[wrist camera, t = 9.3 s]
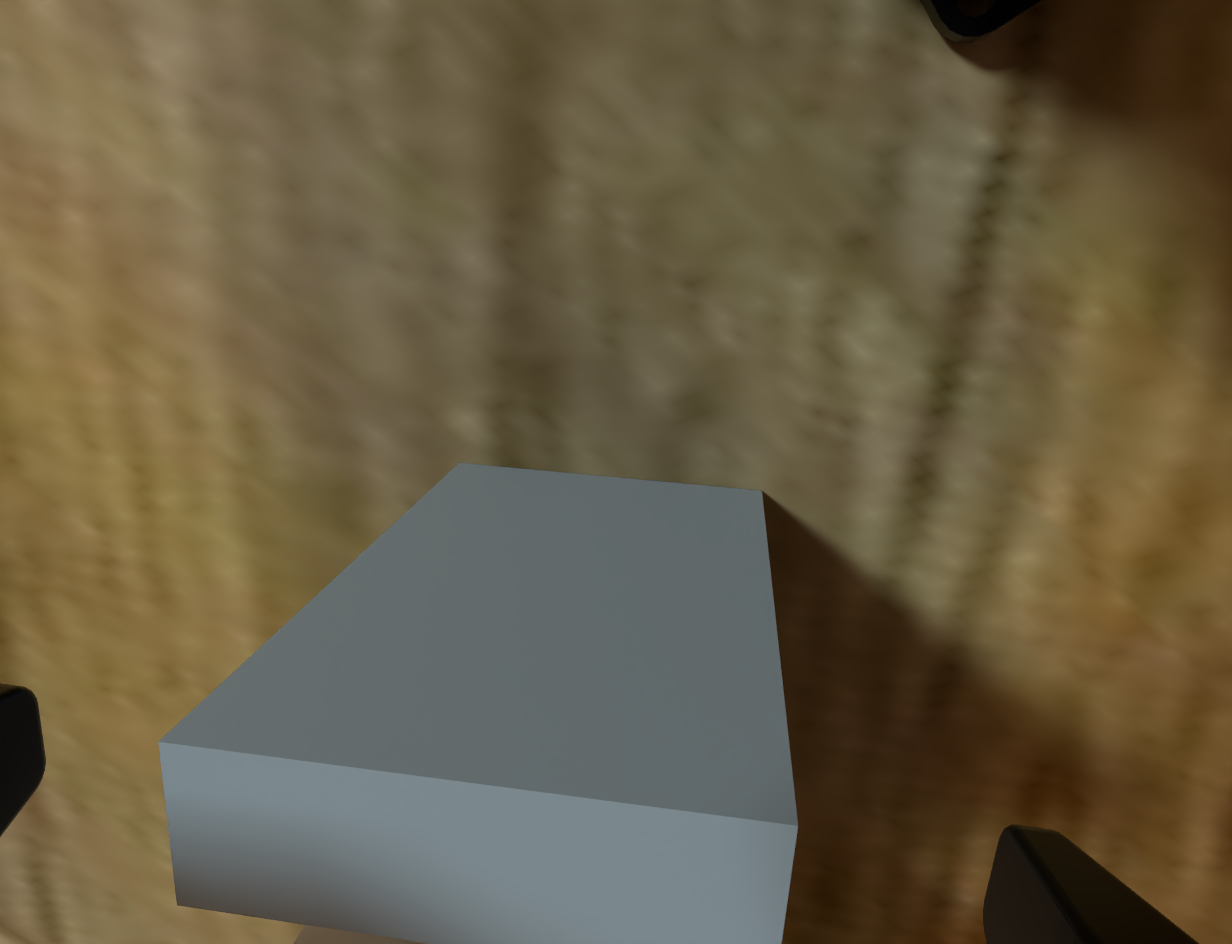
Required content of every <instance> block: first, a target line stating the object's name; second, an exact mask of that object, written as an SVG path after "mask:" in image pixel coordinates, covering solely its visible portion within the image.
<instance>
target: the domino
mask: <svg viewBox="0 0 1232 944" xmlns="http://www.w3.org/2000/svg"><path fill="white" fill-rule="evenodd" d="M158 743H159V751H160V760H161V769H162V778H163V786H164V795H165V804H166V813H167V821H168V830H169V839H170V847H171V856H172V865H173V874H174V882H175V891H176V900H177V905H179V906H186V907H193V908H199V909H206V910H212V911H219V912H225V913H232V914H239V915H245V916H252V917H258V918H265V919H271V920H278V921H285V922H291V923H298V924H304V925H311V926H318V927H324V928H331V929H337V930H344V931H350V932H357V933H364V934H370V935H377V936H383V937H390V938H396V939H403V940H410V941H416V942H423V943H429V944H782V937H783V930H784V923H785V916H786V909H787V902H788V895H789V887H790V880H791V873H792V866H793V859H794V852H795V845H796V838H797V831H798V820H797V810H796V801H795V792H794V783H793V773H792V764H791V755H790V746H789V736H788V727H787V718H786V709H785V699H784V690H783V681H782V672H781V663H780V653H779V644H778V635H777V626H776V616H775V607H774V598H773V589H772V579H771V570H770V561H769V552H768V542H767V533H766V524H765V515H764V506H763V496H762V491H758V490H747V489H736V488H725V487H715V486H704V485H693V484H682V483H671V482H660V481H649V480H639V479H628V478H617V477H606V476H595V475H584V474H573V473H562V472H552V471H541V470H530V469H519V468H508V467H497V466H486V465H476V464H465V463H459V464H458V465H457V466H456V467H454V468H453V469H452V470H451V471H450V472H449V473H448V474H447V475H446V476H445V477H444V478H443V479H441V480H440V481H439V482H438V483H437V484H436V485H435V486H434V487H433V488H432V489H431V490H430V491H429V492H427V493H426V494H425V495H424V496H423V497H422V498H421V499H420V500H419V501H418V502H417V503H416V504H415V505H413V506H412V507H411V508H410V509H409V510H408V511H407V512H406V513H405V514H404V515H403V516H402V517H400V518H399V519H398V520H397V521H396V522H395V523H394V524H393V525H392V526H391V527H390V528H389V529H388V530H386V531H385V532H384V533H383V534H382V535H381V536H380V537H379V538H378V539H377V540H376V541H375V542H374V543H372V544H371V545H370V546H369V547H368V548H367V549H366V550H365V551H364V552H363V553H362V554H361V555H359V556H358V557H357V558H356V559H355V560H354V561H353V562H352V563H351V564H350V565H349V566H348V567H347V568H345V569H344V570H343V571H342V572H341V573H340V574H339V575H338V576H337V577H336V578H335V579H334V580H333V581H331V582H330V583H329V584H328V585H327V586H326V587H325V588H324V589H323V590H322V591H321V592H320V593H318V594H317V595H316V596H315V597H314V598H313V599H312V600H311V601H310V602H309V603H308V604H307V605H306V606H304V607H303V608H302V609H301V610H300V611H299V612H298V613H297V614H296V615H295V616H294V617H293V618H292V619H290V620H289V621H288V622H287V623H286V624H285V625H284V626H283V627H282V628H281V629H280V630H279V631H277V632H276V633H275V634H274V635H273V636H272V637H271V638H270V639H269V640H268V641H267V642H266V643H265V644H263V645H262V646H261V647H260V648H259V649H258V650H257V651H256V652H255V653H254V654H253V655H252V656H251V657H249V658H248V659H247V660H246V661H245V662H244V663H243V664H242V665H241V666H240V667H239V668H238V669H236V670H235V671H234V672H233V673H232V674H231V675H230V676H229V677H228V678H227V679H226V680H225V681H224V682H222V683H221V684H220V685H219V686H218V687H217V688H216V689H215V690H214V691H213V692H212V693H211V694H210V695H208V696H207V697H206V698H205V699H204V700H203V701H202V702H201V703H200V704H199V705H198V706H197V707H195V708H194V709H193V710H192V711H191V712H190V713H189V714H188V715H187V716H186V717H185V718H184V719H183V720H181V721H180V722H179V723H178V724H177V725H176V726H175V727H174V728H173V729H172V730H171V731H170V732H169V733H167V734H166V735H165V736H164V737H163V738H162V739H161V740H160V741H159V742H158Z"/></svg>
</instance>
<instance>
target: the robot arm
mask: <svg viewBox="0 0 1232 944" xmlns="http://www.w3.org/2000/svg"><path fill="white" fill-rule="evenodd" d="M1039 1H1041V0H989V2H988V5H987V9H986V11H985V12H984V13H983V14H982V15H979V16H976V17H973V16H969V15H965V14H964V13H963V12H962V11H961V10H960V9H959V8H958V7H957V2H956V0H921V2H922V4H923V6H924V8H925V10H926V12H927V14H928V16H929V18H930V20H931V22H932V23H933V25H934V26H935V28H936V29H937V30H938V31H939V33H940V34H941V35H942V36H943V37H945V38H947V39H949V40H952V41H954V42H973V41H976V40H978V39H981V38H983V37H985V36H987V35H989V34H990V33H992V32H993V31H995V30H996V29H998V28H999V27H1001V26H1002V25H1004V24H1005V23H1007V22H1009V21H1010V20H1012V19H1013V18H1015V17H1016V16H1018V15H1019V14H1021V13H1022V12H1024V11H1025V10H1027V9H1028V8H1030V7H1032V6H1033V5H1035V4H1036V3H1038V2H1039ZM45 765H46V757H45V750H44V743H43V736H42V729H41V721H40V714H39V707H38V702H37V698H36V697H35V695H34V694H33V692H32V691H31V690H29V689H27V688H26V687H22V686H15V685H8V684H1V683H0V837H1V835H2V834H3V833H4V831H5V830H6V829H7V827H8V826H9V825H10V823H11V822H12V821H13V819H14V818H15V817H16V815H17V814H18V813H19V812H20V810H21V809H22V808H23V806H24V805H25V804H26V802H27V801H28V800H29V798H30V797H31V796H32V794H33V793H34V792H35V790H36V789H37V787H38V786H39V784H40V782H41V780H42V777H43V774H44V771H45ZM983 923H984V932H985V937H986V943H987V944H1199V943H1198V942H1197V941H1195V940H1194V939H1193V938H1191V937H1190V936H1189V935H1188V934H1186V933H1185V932H1184V931H1183V930H1181V929H1180V928H1179V927H1178V926H1176V925H1175V924H1174V923H1173V922H1171V921H1170V920H1169V919H1168V918H1166V917H1165V916H1164V915H1163V914H1161V913H1160V912H1159V911H1158V910H1156V909H1155V908H1154V907H1153V906H1151V905H1150V904H1149V903H1148V902H1146V901H1145V900H1144V899H1143V898H1141V897H1140V896H1139V895H1137V894H1136V893H1135V892H1134V891H1132V890H1131V889H1130V888H1129V887H1127V886H1126V885H1125V884H1124V883H1122V882H1121V881H1120V880H1119V879H1117V878H1116V877H1115V876H1114V875H1112V874H1111V873H1110V872H1109V871H1107V870H1106V869H1105V868H1104V867H1102V866H1101V865H1100V864H1099V863H1097V862H1096V861H1095V860H1094V859H1092V858H1091V857H1090V856H1089V855H1087V854H1086V853H1085V852H1084V851H1082V850H1081V849H1080V848H1078V847H1077V846H1076V845H1075V844H1073V843H1072V842H1071V841H1070V840H1068V839H1067V838H1066V837H1065V836H1063V835H1062V834H1060V833H1059V832H1057V831H1054V830H1051V829H1043V828H1036V827H1029V826H1021V825H1010V826H1008V827H1006V828H1005V829H1004V830H1003V832H1002V834H1001V836H1000V838H999V842H998V846H997V850H996V854H995V858H994V862H993V866H992V871H991V875H990V879H989V883H988V887H987V891H986V895H985V900H984V908H983Z"/></svg>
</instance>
